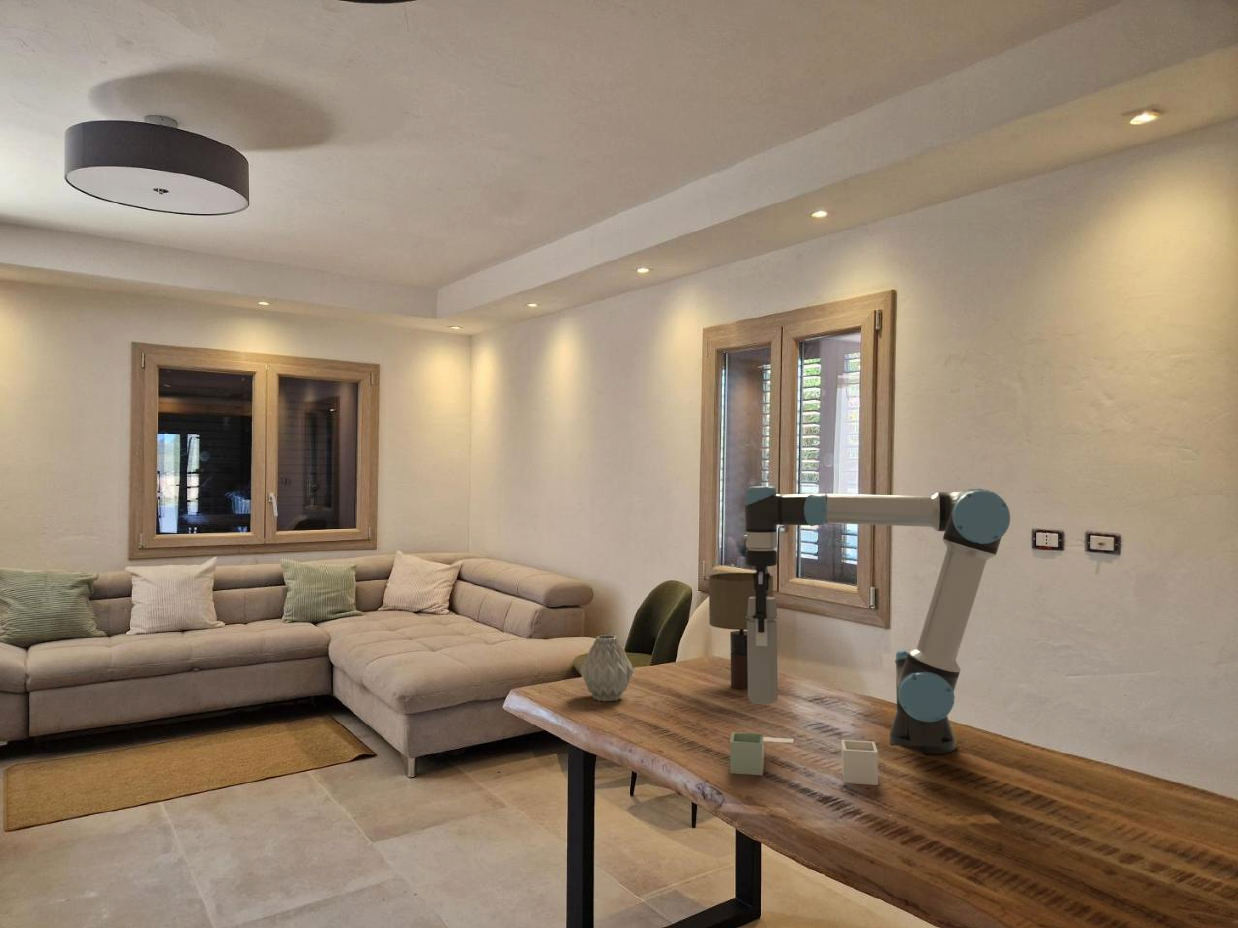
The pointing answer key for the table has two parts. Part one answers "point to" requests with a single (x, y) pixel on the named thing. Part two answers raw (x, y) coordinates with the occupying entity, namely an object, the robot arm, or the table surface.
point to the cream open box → (859, 762)
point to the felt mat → (778, 739)
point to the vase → (607, 669)
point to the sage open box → (747, 753)
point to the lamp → (733, 616)
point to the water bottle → (762, 656)
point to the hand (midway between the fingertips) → (762, 641)
